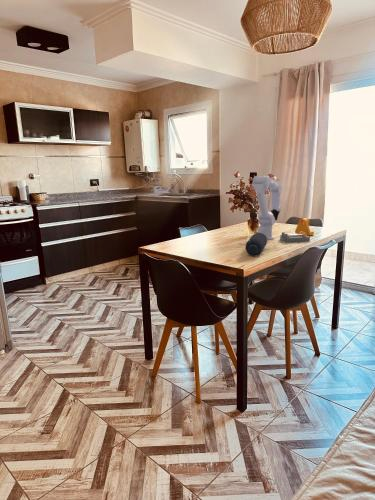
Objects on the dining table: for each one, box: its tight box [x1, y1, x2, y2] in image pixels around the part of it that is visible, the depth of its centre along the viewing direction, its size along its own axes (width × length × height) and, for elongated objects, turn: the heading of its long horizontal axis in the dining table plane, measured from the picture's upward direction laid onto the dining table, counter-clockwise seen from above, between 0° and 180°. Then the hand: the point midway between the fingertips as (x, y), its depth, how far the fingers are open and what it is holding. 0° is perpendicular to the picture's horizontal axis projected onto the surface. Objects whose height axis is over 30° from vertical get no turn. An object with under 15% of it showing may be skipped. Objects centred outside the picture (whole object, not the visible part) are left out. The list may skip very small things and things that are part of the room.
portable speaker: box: [245, 232, 268, 257], centre depth 202 cm, size 25×10×10 cm, turn 160°
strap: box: [283, 233, 303, 237], centre depth 226 cm, size 14×3×1 cm, turn 97°
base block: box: [279, 231, 311, 244], centre depth 227 cm, size 16×10×5 cm, turn 97°
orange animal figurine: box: [294, 217, 315, 237], centre depth 242 cm, size 11×7×12 cm, turn 39°
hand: (275, 220), depth 247 cm, fingers closed
